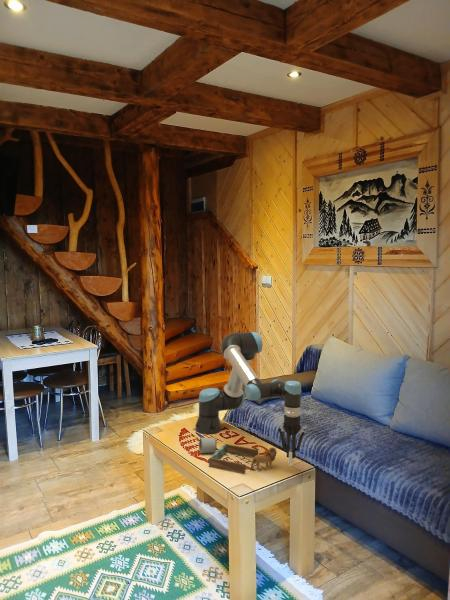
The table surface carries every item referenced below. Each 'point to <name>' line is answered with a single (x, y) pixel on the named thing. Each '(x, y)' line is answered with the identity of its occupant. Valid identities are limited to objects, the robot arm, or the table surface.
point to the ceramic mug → (207, 445)
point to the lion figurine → (264, 458)
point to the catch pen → (227, 465)
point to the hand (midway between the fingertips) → (290, 464)
